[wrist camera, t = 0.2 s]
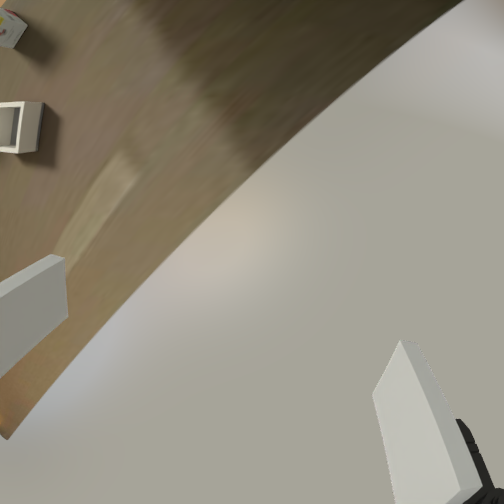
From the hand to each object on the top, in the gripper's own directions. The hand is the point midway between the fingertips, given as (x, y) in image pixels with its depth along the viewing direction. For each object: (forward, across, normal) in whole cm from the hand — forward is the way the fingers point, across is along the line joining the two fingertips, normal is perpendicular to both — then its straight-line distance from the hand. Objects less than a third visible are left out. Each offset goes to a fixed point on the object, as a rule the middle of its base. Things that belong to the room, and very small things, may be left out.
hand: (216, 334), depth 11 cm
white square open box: (+28, -39, +5) cm, 48 cm away
